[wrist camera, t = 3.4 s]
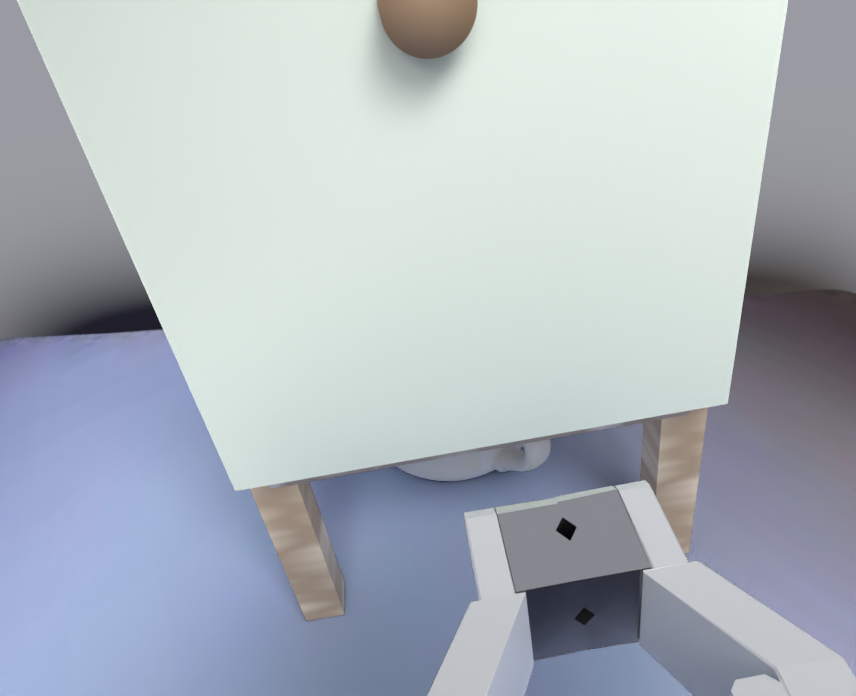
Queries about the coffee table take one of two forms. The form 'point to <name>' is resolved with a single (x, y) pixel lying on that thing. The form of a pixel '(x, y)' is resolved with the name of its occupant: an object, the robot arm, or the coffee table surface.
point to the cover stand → (298, 510)
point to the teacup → (482, 462)
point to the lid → (426, 209)
